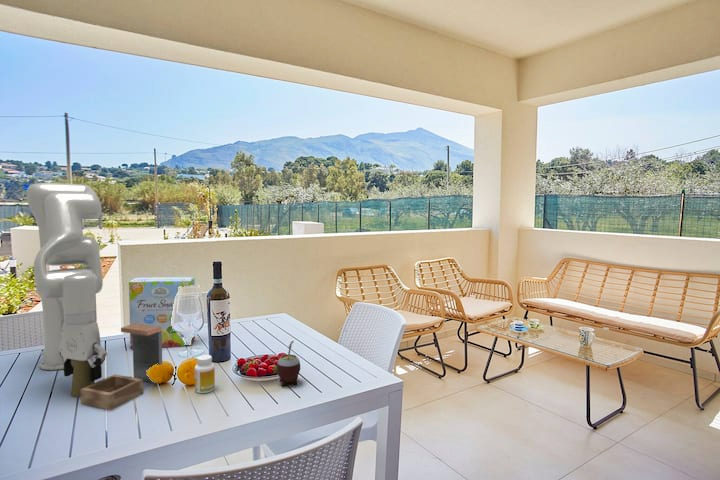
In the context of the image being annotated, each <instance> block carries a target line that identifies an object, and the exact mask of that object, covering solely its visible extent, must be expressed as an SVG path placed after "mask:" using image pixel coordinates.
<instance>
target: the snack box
mask: <svg viewBox="0 0 720 480" xmlns="http://www.w3.org/2000/svg"><path fill="white" fill-rule="evenodd" d="M195 279H196V278H195V276H174V277H173V276H168V277H167V276H163V277H162V276H156V277H151V276H150V277H134V278H133V279H132V280H130V281H128V297H129V298H128V303H129V304H128V305H129V306H128V307H129V325H131V324H134V323H138V324H146V325H153V326H160V327H162V348H178V347H180V348H181V347H186V346H185V345H184V343H183V341H182V339H181V338H180V336H179V335H178V334H177V333H176V332H175V331H173V329H172V326H171V317H172V311H173V304H174V299H175V296H176V294H177V292H178V287H179V286H182V287H184V286H190V285H196V283H195ZM195 336H196V335H195ZM195 336H194V337H193V338H192V340H191V346H190V347H192V346H193V344H194V343H195V339H196V337H195ZM129 340H130V341H129V342H130V343H129V346H130V347H129V348H130V349H131V350H133V337H132V333H129Z"/></svg>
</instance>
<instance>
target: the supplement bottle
mask: <svg viewBox="0 0 720 480" xmlns="http://www.w3.org/2000/svg"><path fill="white" fill-rule="evenodd" d="M212 361H213V357H212V355H210V354H203V355H199V356H197V358H196V365H195V366H194V391H195V392H196V393H197V394H207V393H210V392H212V391H214V390H215V388H216V387H215V385H216V381H215V380H216V377H215V376H216V375H215V373H216V372H215V371H216V370H215V364H214V363H213V362H212Z"/></svg>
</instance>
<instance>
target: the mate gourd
mask: <svg viewBox="0 0 720 480" xmlns="http://www.w3.org/2000/svg"><path fill="white" fill-rule="evenodd" d="M294 342H295V340H292V341H291V342H290V343H289V345H288V352H287V354H283V355H281V356H280V357H279V359H278V360H277V362H276V372H277V375H278V377H279V382H281V383H282V384H281V388H285V387H286V386H287V385H291V386H292V385H293V386H298V382H297V381H298V380H299V379H298V378H299V374H300V370H301V362H300V359H299V357H298V356H297V355H295V354H291V351H292V350H291V349H292V345H293V343H294Z"/></svg>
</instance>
